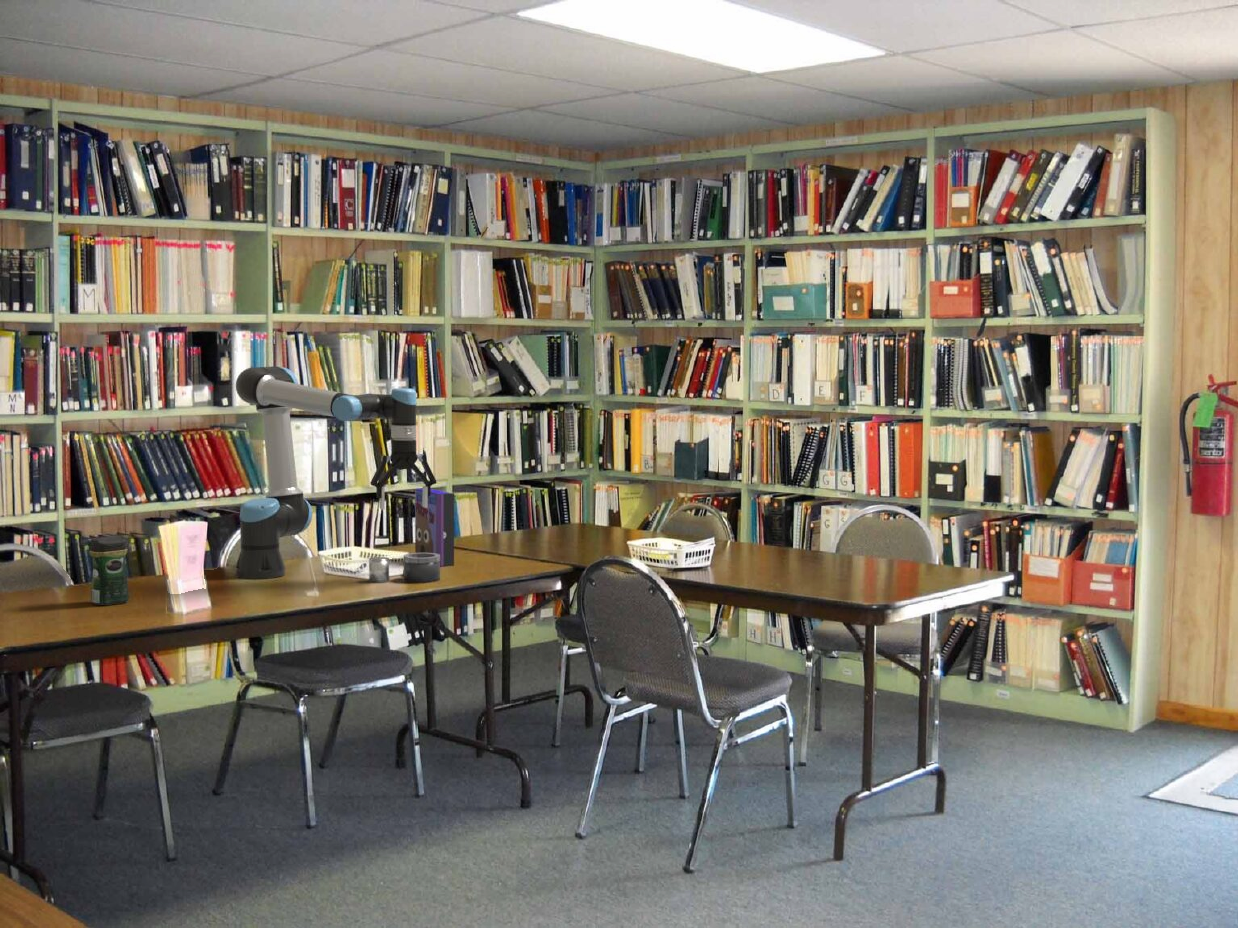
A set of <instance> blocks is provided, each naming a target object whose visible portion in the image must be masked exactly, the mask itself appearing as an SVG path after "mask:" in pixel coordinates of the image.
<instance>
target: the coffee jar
mask: <svg viewBox="0 0 1238 928" xmlns="http://www.w3.org/2000/svg"><path fill="white" fill-rule="evenodd" d="M127 553H128V545H127V540H126V538H125V537H124V536H120V535H111V536H110V535H107V536H100V537H95V538H91V539H90V543H89V555H90V557H91V559H92V561H91V562H92V575H91V576H92V578H91V579H92V580H91V589H90V590H91V591H90V601H91V603H92V604H93V605H94V606H98V605H99V606H111V605H112V606H113V605H119V604H123V603H127V602H128V601H129V600H130V593H129V591H130V590H129V585H128V577H127V571H126V570H127V569H126V556H127Z"/></svg>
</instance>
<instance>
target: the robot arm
mask: <svg viewBox="0 0 1238 928" xmlns="http://www.w3.org/2000/svg"><path fill="white" fill-rule="evenodd" d="M298 381H299V380H298V378H297V376H296V375H295V374H294V372H293V371H291V370H290V369H289V368H287V367H283V366H278V365H277V366H275V365H273V366H252V367H248V368H246V369H244V370H243V371H242V372H240V373H239V374H238V376H237V378H236V381H235V391H236V394H237V396H238V397H239V398H240V400H242V401H243V402H245V403H247V404H251V405H255V408H256V411H257V412H258V413H259V415H261V418H262V428H263V436H264V445H265V454H266V455H265V456H266V463H267V464H266V465H267V474H268V482H269V491H268V492H267V494H266V495H265V497H259V498H253V499H249V500H246V501H245V502H242V504H241V505H240V512H239V513H240V514H239V521H240V522H239V527H240V530H239V531H240V532H239V533H240V552H239V555H238V559H237V561H236V565H235V569H234V570H235V571H234V576H235V577H237V578H242V579H252V580H253V579H255V580H257V579H271V578H278V577H279V578H280V577H282V576H285V575H286V566H285V562H284V560H283V559H284V558H283V557H282V553H281V551H280V538H284V537H288V536H289V537H290V536H291V537H292V536H295V535H297V534H300V533H301V534H302V532H304V531H305V530H307V529H308V528H309V526H310V525H311V522H312V520H313V509H312V505H311V504H310V503H309V502H308V500H307V499H305V498H304V492H303V491H302V490H301V489H300V488H299V487H298V481H297V480H298V479H297V470H296V462H295V461H296V460H295V451H294V450H295V449H294V442H293V433H292V425H291V423H292V422H291V414H290V413H291V411H292V410H293V409H294V410H300V411H304V412H310V413H315V414H320V415H325V416H329V417H335V418H336V419H338V421H342V422H353V421H360V420H361V421H362V420H373V419H375V420H376V419H378V420H379V419H380V420H390V421H391V427H390V428H391V429H390V430H391V431H390V432H391V433H390V434H391V436H390V437H391V438H392V440H391V441H390V443H391V444H390V447H391V449H390V450H391V454H390V456H389V455H385V454H381V456H380V460H379V461H380V462H379V464H378V466H377V468H376V471H375V472H374V474H373V476H372V479H371V481H370V485H371V486H372V487H375V488H376V492H375V493H376V499H379V509H380V510H385V490H386V489H385V487H383V486H384V485H385V484H386V482H387V481H388V480H389V479H390V478H391V476H392V475H393V474H394V473H395V472H396V471H397V470H399V471H402V470H407V471H408V470H412V471H413V472H414V473H415V474H416V476H417V477H418V478H419V480H421V482H422V483H423V484H424V485H422V488H423V491H422V507H424V508H428V497H429V496H430V489H431V487H432V486H433V485H436V484H437V480H436V478H435V475H434V474H433V473H434V472H433V471H432V469H431V467H430V466H429V463H428V460H427V455H426V454H424V453H423V454H422V453H421V454H417V440H416V438H417V404H418V403H417V392H416V390H415V389H414V388H406V387H405V388H403V387H402V388H401V387H400V388H399V387H398V388H396V387H395V388H393V389H391V392H390V394H383V393H381V394H380V393H361V394H354V395H353V394H348V393H342V392H338V391H333V390H329V389H324V388H318V387H315V386H310V385H309V386H308V385H304V384H299V382H298ZM389 461H390V462H391V465H390V466H389V467H388V469H387V470H386V471H385V473H384V474H383V471H384V469H385V468H386V466H387V464H388V463H389ZM417 461H419V462H420V463H421V465H422V467H423V469H424V472H425V473H426V476H427V477H426V476H425V475H424V474H423V472H422V471H421V470H420V469H419V467H418V465H417V464H416V462H417ZM382 474H383V475H382Z"/></svg>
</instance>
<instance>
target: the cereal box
mask: <svg viewBox="0 0 1238 928" xmlns="http://www.w3.org/2000/svg"><path fill="white" fill-rule="evenodd" d="M422 491H423V487H422V488H415V489H414V503H415V504H414V508H415V510H414V512H415V513H414V518H415V520H414V522H415V523H414V533H415V534H414V535H415V537H414V539H415V540H414V542H415V545H414V549H415V551H414V553H436V554H440V568H445V567H454V566H455V493H453V492H448V491H442V490H436V489H433V488H430V496H429V497H428V508H424V507H422Z"/></svg>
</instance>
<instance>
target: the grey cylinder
mask: <svg viewBox="0 0 1238 928" xmlns="http://www.w3.org/2000/svg"><path fill="white" fill-rule="evenodd" d="M368 582H369V583H373V584H383V583H389V582H390V558H389V557H386V556H374V557H373V556H372V557H369V558H368Z"/></svg>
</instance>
